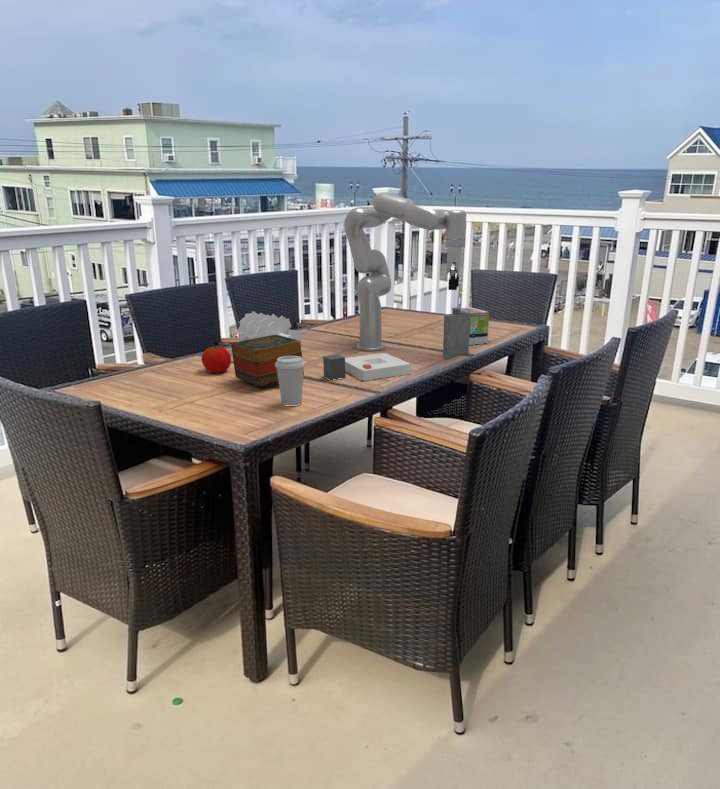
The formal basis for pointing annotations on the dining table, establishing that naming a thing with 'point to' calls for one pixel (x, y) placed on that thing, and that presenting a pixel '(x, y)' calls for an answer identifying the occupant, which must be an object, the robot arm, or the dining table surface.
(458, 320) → the hip flask
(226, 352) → the tomato
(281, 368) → the coffee cup
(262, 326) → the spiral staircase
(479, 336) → the tea box
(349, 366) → the socket
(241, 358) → the decorative box
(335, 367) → the plug
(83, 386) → the dining table surface
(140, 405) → the dining table surface
